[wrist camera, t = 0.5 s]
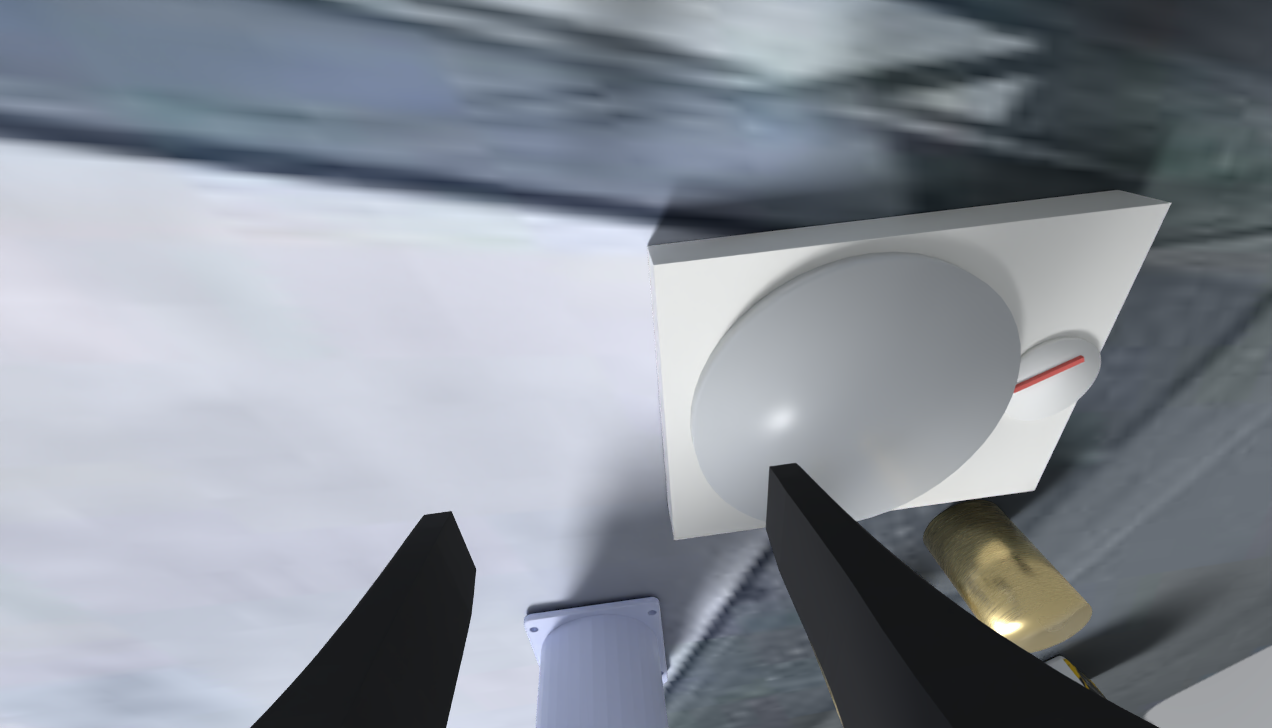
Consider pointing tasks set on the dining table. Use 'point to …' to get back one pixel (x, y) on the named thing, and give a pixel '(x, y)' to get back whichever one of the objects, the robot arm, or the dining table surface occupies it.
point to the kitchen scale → (885, 352)
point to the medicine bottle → (1072, 673)
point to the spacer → (1005, 576)
